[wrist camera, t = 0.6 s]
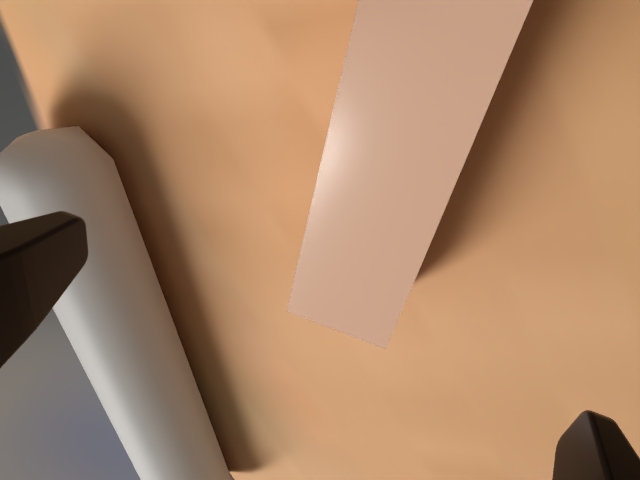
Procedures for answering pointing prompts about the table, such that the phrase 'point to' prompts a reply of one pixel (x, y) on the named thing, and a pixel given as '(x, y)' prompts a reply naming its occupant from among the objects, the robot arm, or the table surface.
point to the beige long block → (396, 153)
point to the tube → (115, 306)
